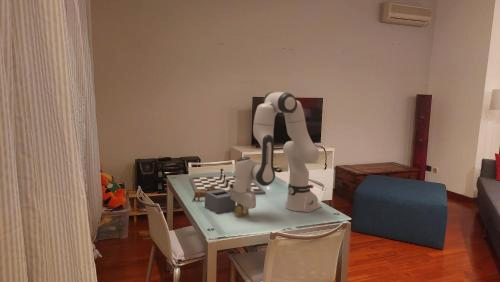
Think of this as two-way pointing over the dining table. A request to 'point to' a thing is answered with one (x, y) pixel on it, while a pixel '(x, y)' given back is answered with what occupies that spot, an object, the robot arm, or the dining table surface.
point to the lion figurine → (202, 193)
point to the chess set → (220, 183)
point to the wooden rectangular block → (239, 211)
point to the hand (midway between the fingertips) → (242, 211)
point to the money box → (219, 201)
